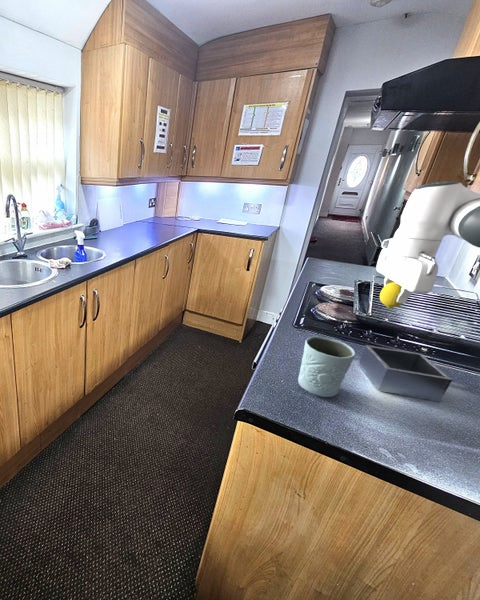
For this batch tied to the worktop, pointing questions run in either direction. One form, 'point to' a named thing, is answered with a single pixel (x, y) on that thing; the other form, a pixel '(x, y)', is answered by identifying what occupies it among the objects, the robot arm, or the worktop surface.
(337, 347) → the pale green embossed cup
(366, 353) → the open grey rectangular container
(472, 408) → the worktop surface
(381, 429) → the worktop surface
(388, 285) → the lemon
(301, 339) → the worktop surface
